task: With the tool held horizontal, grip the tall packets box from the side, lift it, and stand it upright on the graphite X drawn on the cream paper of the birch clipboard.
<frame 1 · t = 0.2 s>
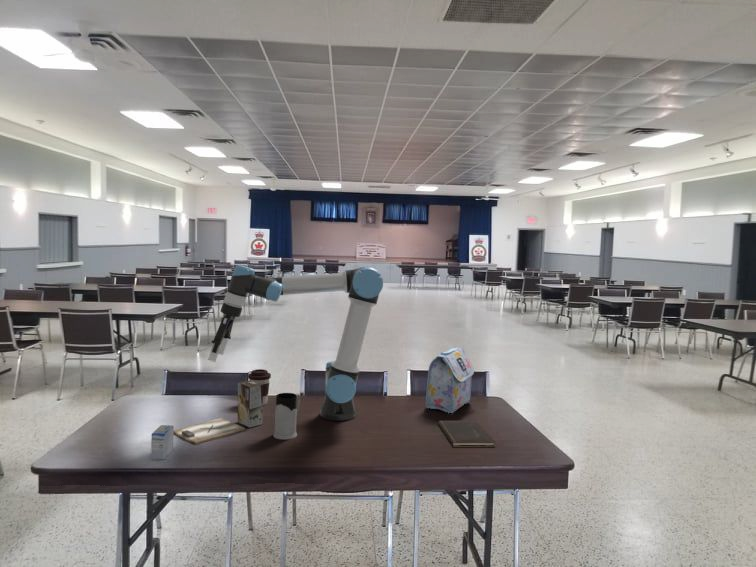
hand: (215, 357, 182), 27 cm above the table, tool tilted 15°, fingers open, 13 cm apart
coffee box: (249, 423, 188), on the table
hardcover book: (464, 436, 184), on the table
coffee cup: (258, 404, 214), on the table
lunch bag: (449, 406, 221), on the table
medicine box: (162, 455, 156), on the table
clipboard: (209, 431, 178), on the table
grey mug: (289, 433, 180), on the table
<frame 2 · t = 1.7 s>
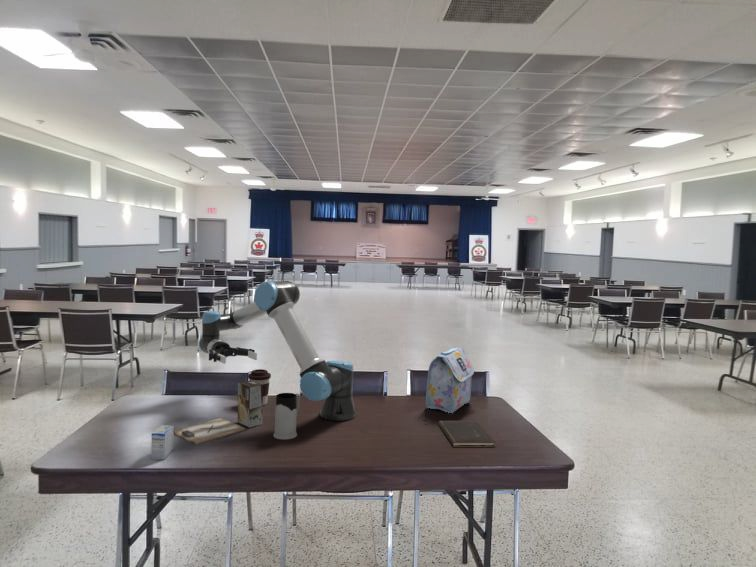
hand: (240, 358, 194), 24 cm above the table, tool horizontal, fingers open, 13 cm apart
nothing on the table moved.
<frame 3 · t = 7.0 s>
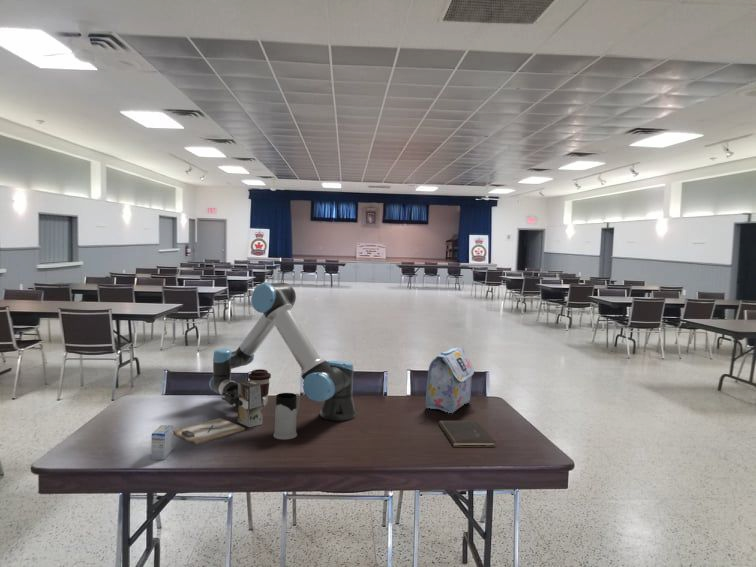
hand: (256, 403, 184), 9 cm above the table, tool horizontal, fingers closed on coffee box, 7 cm apart
coffee box: (249, 423, 188), on the table, touching gripper
everything else where it was.
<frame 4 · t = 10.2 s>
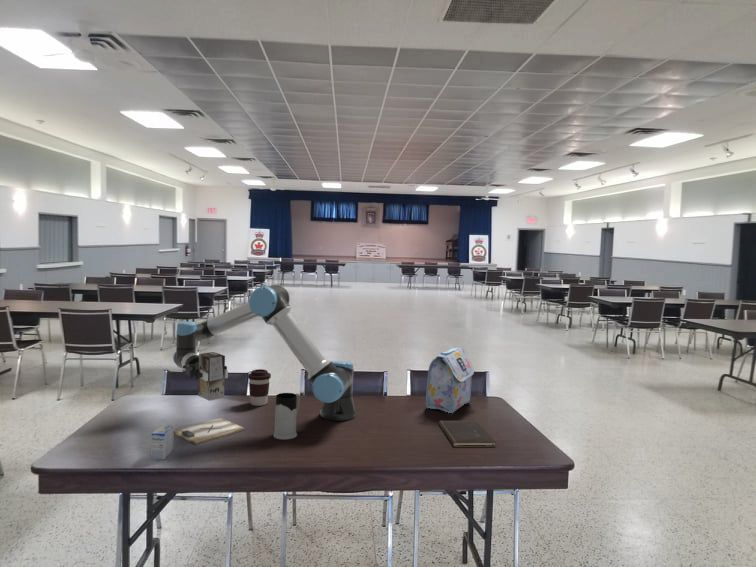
hand: (217, 375, 174), 22 cm above the table, tool horizontal, fingers closed on coffee box, 7 cm apart
coffee box: (211, 397, 178), point 13 cm above the table, touching gripper
everything else where it was.
when the fingers open (11 cm above the table, at t = 13.7 s): coffee box drops 1 cm, resting on clipboard.
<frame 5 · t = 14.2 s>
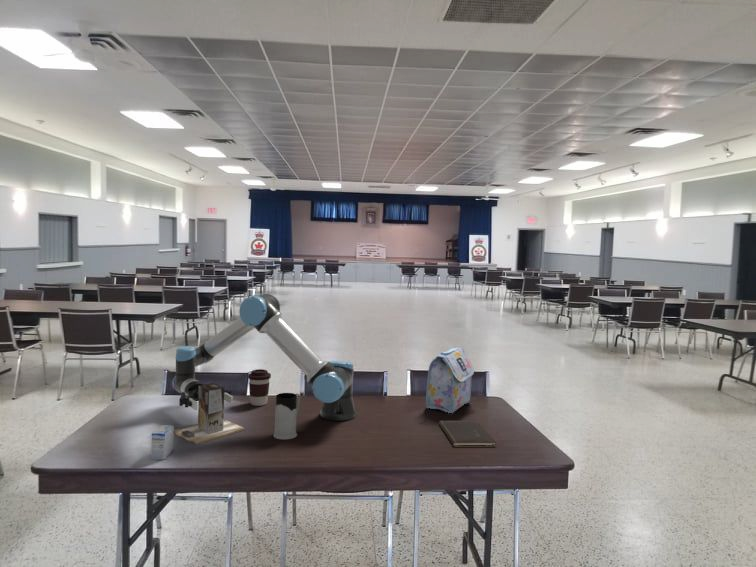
hand: (214, 403, 175), 11 cm above the table, tool horizontal, fingers open, 13 cm apart
coffee box: (210, 429, 178), point 1 cm above the table, touching clipboard
everything else where it was.
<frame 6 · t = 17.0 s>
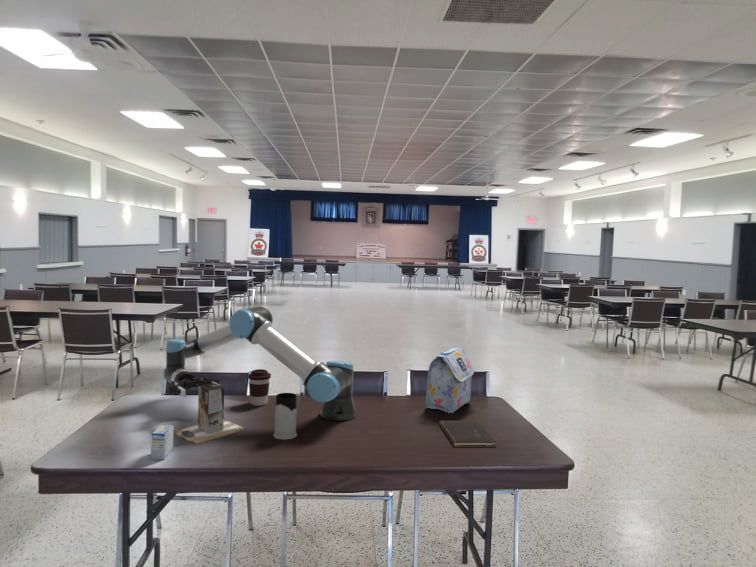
hand: (202, 390, 185), 13 cm above the table, tool horizontal, fingers open, 13 cm apart
nothing on the table moved.
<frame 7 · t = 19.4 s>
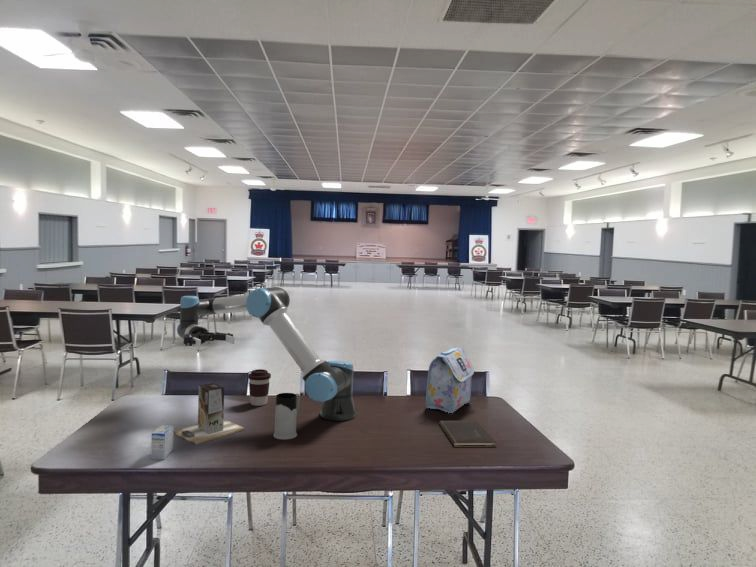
hand: (217, 342, 187), 32 cm above the table, tool horizontal, fingers open, 13 cm apart
nothing on the table moved.
at the end: coffee box inside the target area on the clipboard (0.0 cm from its centre), point 0.7 cm above the clipboard's base; coffee box tilted 0°; the gripper is holding nothing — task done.
